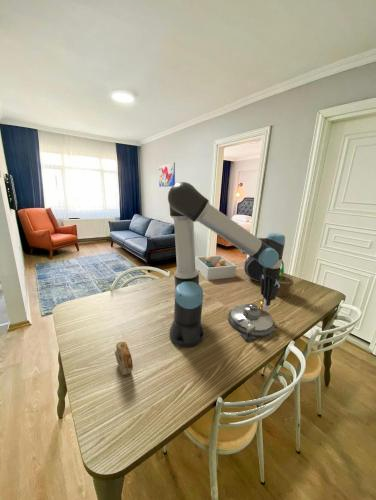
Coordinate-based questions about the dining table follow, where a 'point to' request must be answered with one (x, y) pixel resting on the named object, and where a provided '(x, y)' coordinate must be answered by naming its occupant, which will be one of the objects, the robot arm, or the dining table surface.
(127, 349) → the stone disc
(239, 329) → the turntable base
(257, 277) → the dark decorated bowl
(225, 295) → the dining table surface
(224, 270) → the parts crate
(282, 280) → the flowerpot
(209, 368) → the dining table surface
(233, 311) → the turntable
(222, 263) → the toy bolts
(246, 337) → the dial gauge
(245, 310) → the cover
